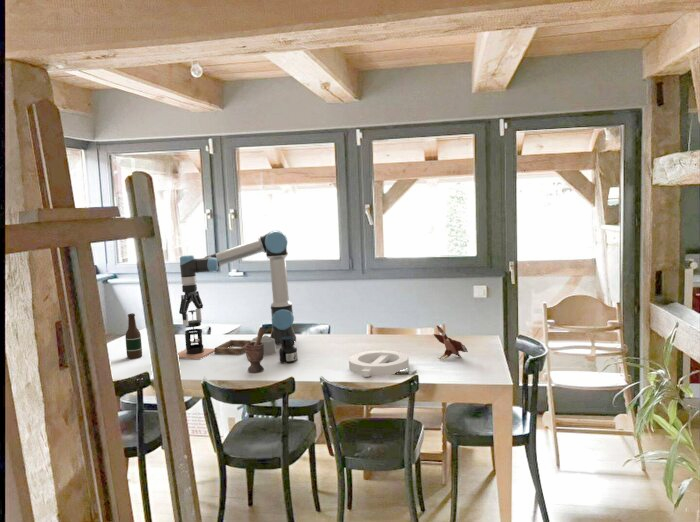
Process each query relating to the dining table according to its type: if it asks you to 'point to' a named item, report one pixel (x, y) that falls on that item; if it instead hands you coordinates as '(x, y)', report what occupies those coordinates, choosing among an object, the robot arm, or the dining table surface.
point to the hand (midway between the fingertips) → (192, 323)
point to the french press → (196, 347)
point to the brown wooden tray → (226, 350)
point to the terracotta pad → (200, 355)
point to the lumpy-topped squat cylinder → (267, 344)
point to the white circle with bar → (378, 363)
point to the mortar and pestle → (255, 353)
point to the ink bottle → (288, 350)
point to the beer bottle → (133, 339)
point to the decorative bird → (449, 344)
